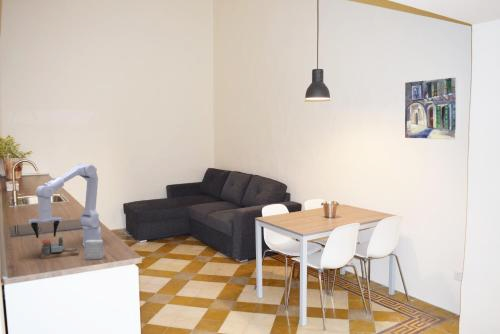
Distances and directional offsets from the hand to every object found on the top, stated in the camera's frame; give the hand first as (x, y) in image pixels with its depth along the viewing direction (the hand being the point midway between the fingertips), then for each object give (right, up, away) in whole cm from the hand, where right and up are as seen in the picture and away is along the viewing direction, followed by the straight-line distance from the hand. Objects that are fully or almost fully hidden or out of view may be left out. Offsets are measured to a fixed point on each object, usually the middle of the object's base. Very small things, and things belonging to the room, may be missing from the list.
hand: (46, 236), depth 201 cm
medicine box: (+25, -10, -3) cm, 27 cm away
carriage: (+4, -7, +2) cm, 9 cm away
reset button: (0, -3, 0) cm, 3 cm away
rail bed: (+6, -9, +3) cm, 11 cm away
